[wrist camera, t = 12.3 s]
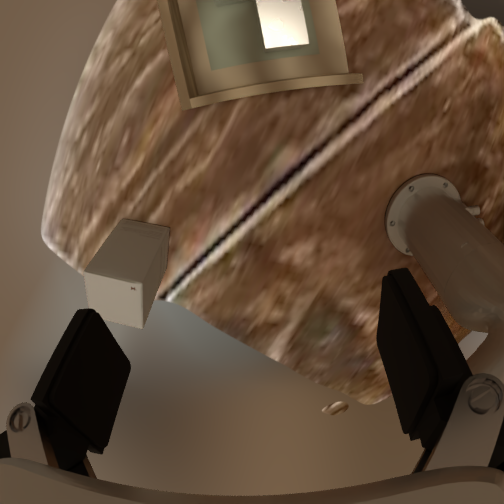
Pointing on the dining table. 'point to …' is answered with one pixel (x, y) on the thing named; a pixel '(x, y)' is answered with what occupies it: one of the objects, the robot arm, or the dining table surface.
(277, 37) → the bracket
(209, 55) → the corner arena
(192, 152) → the dining table surface
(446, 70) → the dining table surface
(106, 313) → the supplement box
